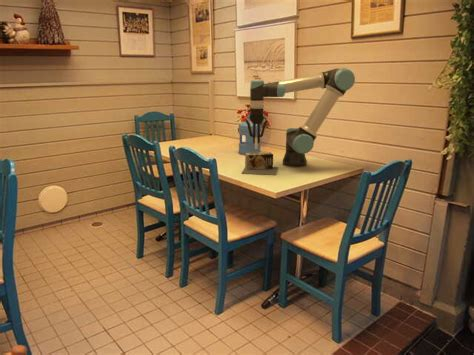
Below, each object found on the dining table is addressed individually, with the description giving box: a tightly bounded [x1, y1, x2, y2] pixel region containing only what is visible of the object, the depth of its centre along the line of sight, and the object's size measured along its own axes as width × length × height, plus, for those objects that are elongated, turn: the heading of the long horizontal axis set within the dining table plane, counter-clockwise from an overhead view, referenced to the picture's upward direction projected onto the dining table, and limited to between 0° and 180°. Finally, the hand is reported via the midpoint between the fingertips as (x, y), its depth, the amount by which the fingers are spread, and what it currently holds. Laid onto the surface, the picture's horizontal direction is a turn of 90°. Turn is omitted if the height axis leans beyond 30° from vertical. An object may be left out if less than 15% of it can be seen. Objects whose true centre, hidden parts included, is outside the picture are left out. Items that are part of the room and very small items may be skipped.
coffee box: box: [244, 152, 274, 170], centre depth 230 cm, size 9×6×16 cm
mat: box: [241, 166, 279, 176], centre depth 227 cm, size 20×18×1 cm
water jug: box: [238, 113, 262, 156], centre depth 271 cm, size 16×16×28 cm
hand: (256, 148), depth 224 cm, fingers closed
